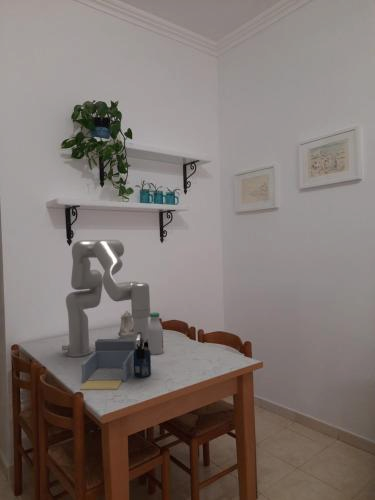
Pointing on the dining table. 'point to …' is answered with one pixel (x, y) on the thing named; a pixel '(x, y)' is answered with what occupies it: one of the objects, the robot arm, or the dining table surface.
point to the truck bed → (110, 357)
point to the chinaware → (126, 326)
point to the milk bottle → (155, 335)
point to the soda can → (142, 364)
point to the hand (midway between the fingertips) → (142, 355)
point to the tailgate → (101, 385)
